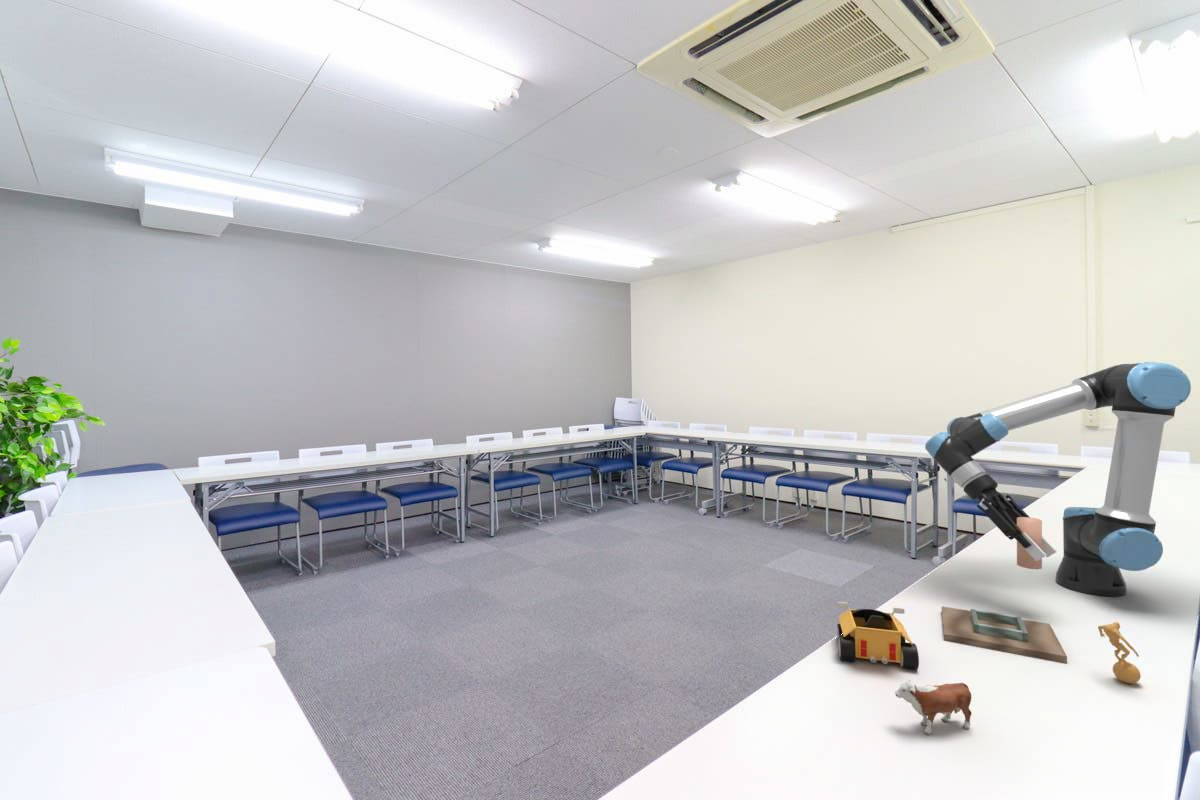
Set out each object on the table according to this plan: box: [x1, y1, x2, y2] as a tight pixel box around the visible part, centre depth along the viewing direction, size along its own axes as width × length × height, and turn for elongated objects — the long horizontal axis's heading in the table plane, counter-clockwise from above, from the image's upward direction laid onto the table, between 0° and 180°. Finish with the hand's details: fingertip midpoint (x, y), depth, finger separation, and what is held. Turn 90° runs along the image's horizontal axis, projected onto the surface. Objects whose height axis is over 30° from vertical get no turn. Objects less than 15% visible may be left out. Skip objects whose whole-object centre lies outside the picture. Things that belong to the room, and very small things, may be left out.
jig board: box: [941, 606, 1068, 664], centre depth 127 cm, size 22×18×4 cm
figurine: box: [1097, 621, 1142, 684], centre depth 107 cm, size 8×6×12 cm
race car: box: [836, 601, 920, 670], centre depth 119 cm, size 15×15×11 cm
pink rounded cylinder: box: [1016, 516, 1043, 570], centre depth 137 cm, size 5×5×12 cm
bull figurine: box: [894, 679, 972, 736], centre depth 94 cm, size 4×13×8 cm, turn 95°
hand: (1046, 556), depth 134 cm, fingers closed on pink rounded cylinder, 5 cm apart
